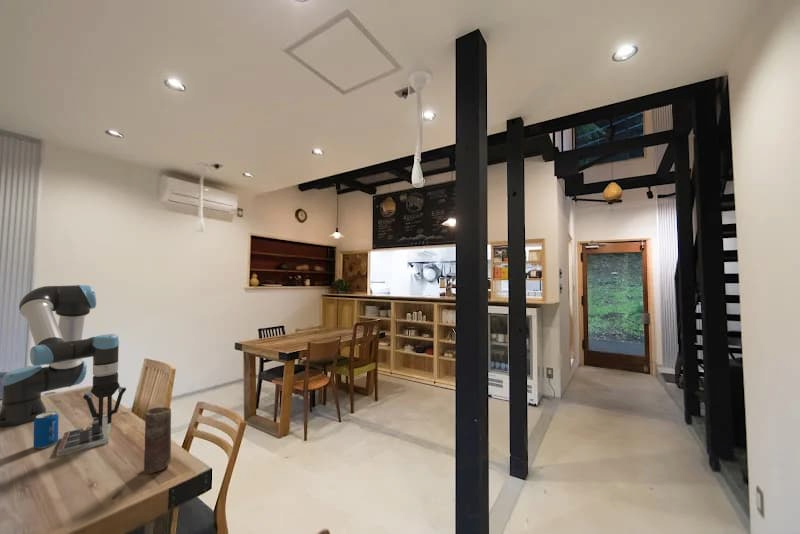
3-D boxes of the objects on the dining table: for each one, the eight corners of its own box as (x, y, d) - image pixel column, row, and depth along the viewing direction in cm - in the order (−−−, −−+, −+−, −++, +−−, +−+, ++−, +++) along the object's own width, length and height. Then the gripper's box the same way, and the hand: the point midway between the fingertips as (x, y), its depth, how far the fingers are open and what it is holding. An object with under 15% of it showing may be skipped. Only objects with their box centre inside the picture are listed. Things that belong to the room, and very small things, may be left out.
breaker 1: (94, 425, 135) (94, 415, 135) (101, 423, 136) (102, 414, 136) (93, 428, 132) (93, 418, 132) (101, 426, 134) (101, 417, 134)
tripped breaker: (80, 438, 124) (80, 428, 124) (89, 436, 125) (89, 426, 125) (79, 442, 121) (79, 431, 121) (88, 440, 123) (88, 429, 123)
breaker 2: (92, 430, 130) (93, 420, 130) (100, 428, 132) (101, 419, 132) (92, 434, 128) (92, 424, 128) (100, 432, 129) (100, 422, 129)
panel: (64, 437, 130) (64, 432, 130) (110, 426, 139) (110, 421, 139) (56, 456, 116) (56, 450, 116) (108, 443, 125) (108, 437, 125)
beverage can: (41, 450, 120) (42, 418, 121) (28, 448, 122) (29, 417, 122) (62, 441, 127) (63, 411, 127) (50, 440, 128) (50, 410, 128)
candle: (154, 461, 113) (154, 405, 113) (175, 460, 113) (176, 404, 114) (138, 475, 105) (139, 415, 106) (161, 474, 106) (162, 414, 106)
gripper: (81, 379, 120) (80, 441, 120) (127, 372, 129) (126, 430, 128) (84, 374, 126) (83, 434, 126) (127, 368, 135) (126, 423, 134)
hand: (104, 432), depth 127 cm, fingers closed
